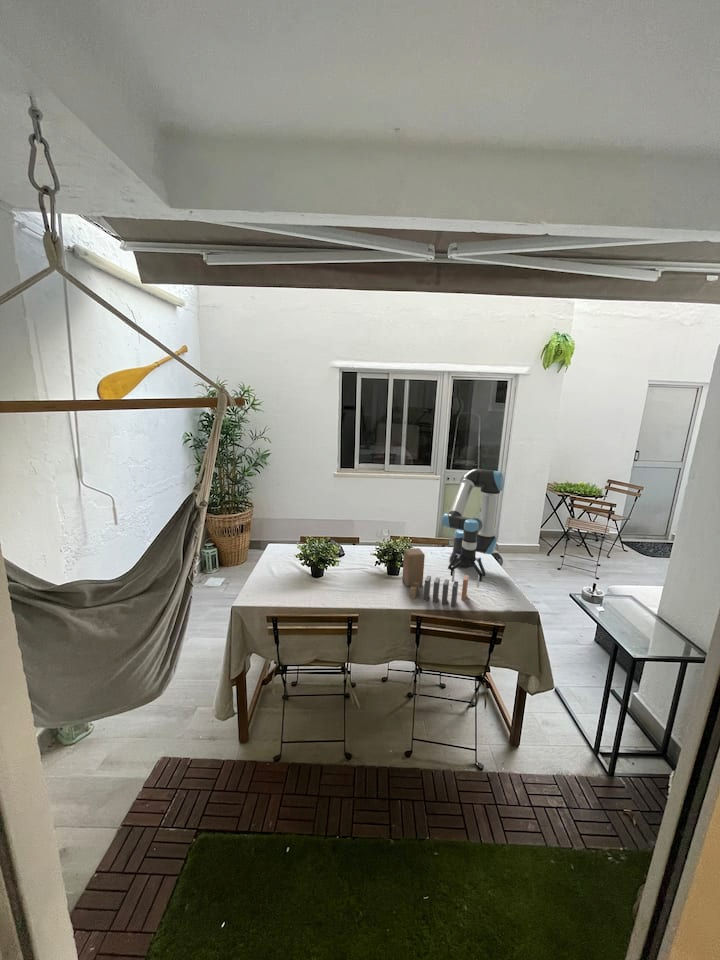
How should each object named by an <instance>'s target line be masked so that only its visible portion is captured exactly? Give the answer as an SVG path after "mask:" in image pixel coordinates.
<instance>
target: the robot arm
mask: <svg viewBox="0 0 720 960" xmlns="http://www.w3.org/2000/svg"><path fill="white" fill-rule="evenodd" d="M504 485H505V478H504V474H503V472H502V471H498V470H493V469H484V468H482V469H481V468H474V469H471V470H469V471H467V472H466V473H465V474H464V475H462V477H461V479H460V481H459V488H458V490H457V492H456V495H455V497H454V500H453V503H452V504H451V507H450V510H449V512H448V513H444V514H443V515H442V519H441V524H442V527H445V528H449V529H454V530H455V531H454V535H453V545H452V546H453V548H452V552H451V554H450V555H449V561H448V562H449V565H448V566H447V569H448V570H450V577H451V583H454V581H455V573H456V572H455V571H456V569H457V568H470V567H472V568H473V569H474V570H475V571H476V573H477V581H476V582H477V584H476V589H477V588H479V586H480V582H482V580H483V579H482V578H483V577H485V576H486V574H487V573H486V570H485V568H484V565H483V561H482V558H481V557H476V554H477V553H481V554H485V555H492V554H494V552H495V549H496V546H497V543H498V537H496V533H495V532H494V525H495V518H496V517H495V516H496V508H497V501H498V500H497V498H498V495H499V494H501V491H503V490H504ZM475 488H479V489H480V492H481V494H482V497H481V498H482V499H481V505H480V506H481V507H480V508H481V509H480V516H479V517H475V516H474V517H473V518H471V517H466V516H463V515H464V511H465V509H466V506H467V504H468V501H469V499H470V496H471V494H472V491H474V490H475ZM476 562H477V563H478V565H477V564H476ZM478 566H479V567H478ZM479 568H480V569H479Z"/></svg>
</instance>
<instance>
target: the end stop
mask: <svg viewBox="0 0 720 960" xmlns="http://www.w3.org/2000/svg"><path fill="white" fill-rule="evenodd" d="M419 590H420V585H419V583H418V582H414V583H413V584H412V586H410V587H409V598H410V599H413V600H415V599H416V598H417V596H418V594H419V592H420V591H419Z"/></svg>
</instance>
